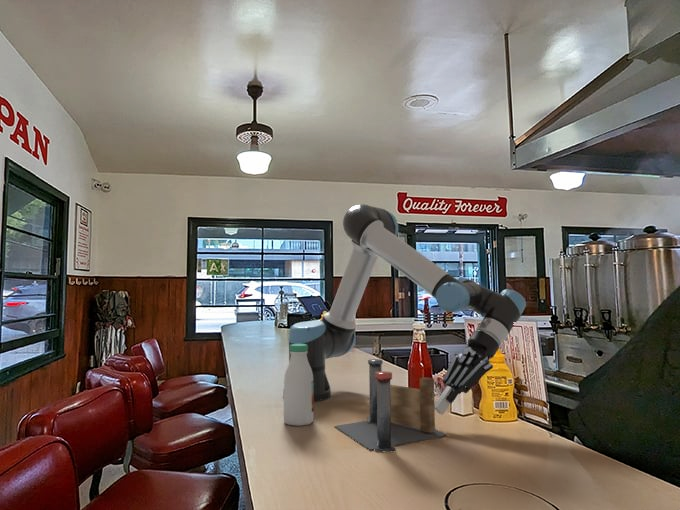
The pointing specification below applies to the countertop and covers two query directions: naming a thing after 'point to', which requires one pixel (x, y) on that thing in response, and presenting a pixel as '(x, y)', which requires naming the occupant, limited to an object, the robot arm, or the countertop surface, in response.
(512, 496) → the countertop surface
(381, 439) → the post
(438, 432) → the bar mat
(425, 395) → the gate
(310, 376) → the milk bottle
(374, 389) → the hinge post
